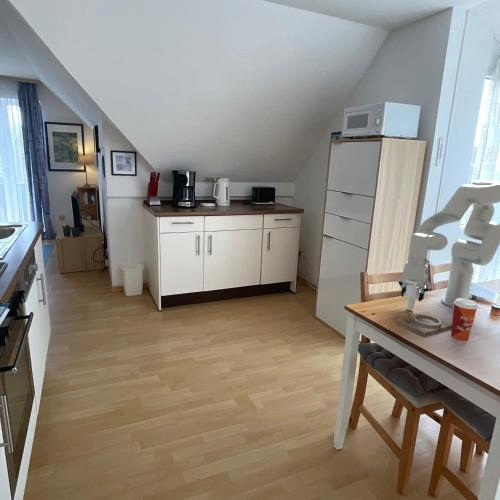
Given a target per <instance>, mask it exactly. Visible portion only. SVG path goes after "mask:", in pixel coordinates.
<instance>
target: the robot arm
mask: <svg viewBox="0 0 500 500" xmlns="http://www.w3.org/2000/svg"><path fill="white" fill-rule="evenodd" d="M497 203H500V180H490V179H489V180H488V179H478V180H475V181H473V182H471V184H462V185H460V186H459V187H458V188H457V189H456V191H455V192H454V193H453V194H452V196H451V197H450V198H449V200H448V201H447V203H446V204H445V206H444V208H442V209H441V211H438V212H436V213H434V214H433V215H431V216H430V217H428V218H426V219H425V220H424V221H423V222H422V223H421V224H420V226H419V228H418V229H417V230H416V232H415V233H412V234H411V235H410V241H409V248H408V254H407V255H408V257H407V261H406V262H405V264H404V267H403V272H402V274H401V275H400V276H398V277H396V278H395V279H396V282H398V284H399V286H400V289H401V292H400V294H401V297H402V298H405V297H404V293H405V292H406V286H407V284H408V285H409V284H411V283H408V282H406V279H407V280H410V281H415V282H418V284H417V287H416V288H419V289H420V290H419V299H417V301H418V302H422V301H423V300H424V298H425V293H426V292H427V291H429V290H431V289H432V288H433V287H434V285H433V284H432V283H431V282H430V281H429V267H428V264H430V262H431V261H430V260H429V259H428V252H429V251H442V250H444V249H445V248H446V247H447V246H448V242H449V241H448V239H447V237H446V236H445V235H444V234H442V233H440V232H439V233H438V232H435V231H434V230H435V229H437V228H439V227H441V226H445V225H447V224H451V223H457V222H460V221H461V220H462V218H463V216H464V215H465V214H466V212H468V210H469V208H470V207H471V206H472V205H473V208H472V211H471V213H470V216H469V217H468V219H467V221H466V224H465V227H464V230H463V235H464V236H465V237H467V238H469V239H471V240H468V239H459V240H456V241H455V242H454V243H453V244H452V246H451V251H450V252H451V264H450V269H449V275H448V279H447V280H448V282H447V287H446V292H445V296H442V297H441V299H440V301H441V303H443V304H445V305H446V306H449V307H452V308H454V301H455V300H456V299H457V298H465V299H469V300H470V299H472V298H473V295H472V294H470V291H471V286H472V280H473V275H474V266H473V264H475V265H477V266H482V267H483V266H486V265H487V266H488V265H489V264H490V263H491V262H492V260H493V259H494V256H495V254H496V252H497V251H498V248H499V246H500V223H499V222H496V221H492V218H493V216H494V215H495V206H494V204H497ZM472 240H476V241H480V242H481V243H480V242H475V241H472ZM411 285H414V284H411ZM425 286H426V287H425Z"/></svg>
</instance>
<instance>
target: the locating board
mask: <svg viewBox="0 0 500 500" xmlns="http://www.w3.org/2000/svg"><path fill="white" fill-rule="evenodd" d="M396 324H397V325H400V326H401V327H404V328H406V329H408V330H410V331H412V332H414V333H416V334H418V335H420V336H422V337H427V336H431V335H434V334H438V333H441V332H444V331H447V330H448V331H449V330H451V329H452V321H450V320H448V319H445V318H443V317H441V316H439V315H435V314H433V313H431V312H423V313H414V314H413V315H412V311H407V313H406V317H404V318H401V319H397V321H396Z"/></svg>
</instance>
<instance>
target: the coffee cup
mask: <svg viewBox="0 0 500 500" xmlns="http://www.w3.org/2000/svg"><path fill="white" fill-rule="evenodd" d="M478 309H479V306H478V303H477V302H476V301H475V300H471V299H470V298H469V299H465V298H457V299H456V300H455V301H454V307H453V313H452V321H451V322H452V328H451V329H450V331H451V332H450V336H451V337H452V338H453V339H455V340H458V341H462V342H463V341H465V342H466V341H468V340H469V338H470V334H471V330H472V328H473V325H474V320H475V317H476V312H477V310H478Z"/></svg>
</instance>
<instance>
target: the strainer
mask: <svg viewBox="0 0 500 500" xmlns="http://www.w3.org/2000/svg"><path fill="white" fill-rule="evenodd" d="M406 282H408V283H411V284H414V285H411V284H409V285H408V284H407V285H406V292H405V293H404V297H403V298H406V299H407V304H406V308H407V309H408V310H414V308H415V303H416V300H418V299H419V293H420V289H419V287H417V284H418V282H415V281H410V280H407V279H406Z"/></svg>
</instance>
